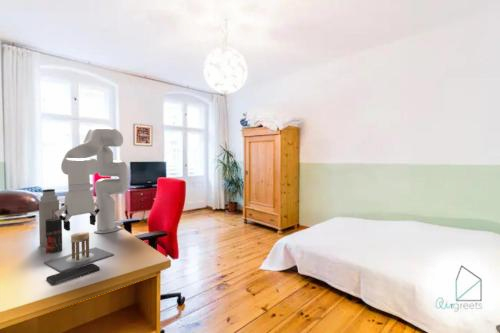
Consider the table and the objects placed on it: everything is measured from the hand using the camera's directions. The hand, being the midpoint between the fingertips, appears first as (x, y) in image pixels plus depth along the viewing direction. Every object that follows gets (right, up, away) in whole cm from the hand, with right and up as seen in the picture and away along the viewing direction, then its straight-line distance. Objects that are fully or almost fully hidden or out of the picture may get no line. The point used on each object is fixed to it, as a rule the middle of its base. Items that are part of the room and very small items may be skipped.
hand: (80, 227), depth 105 cm
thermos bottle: (-29, -14, +19) cm, 37 cm away
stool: (0, -13, 0) cm, 13 cm away
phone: (+8, -15, -15) cm, 22 cm away
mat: (0, -14, 0) cm, 14 cm away
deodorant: (-19, -14, +9) cm, 25 cm away
